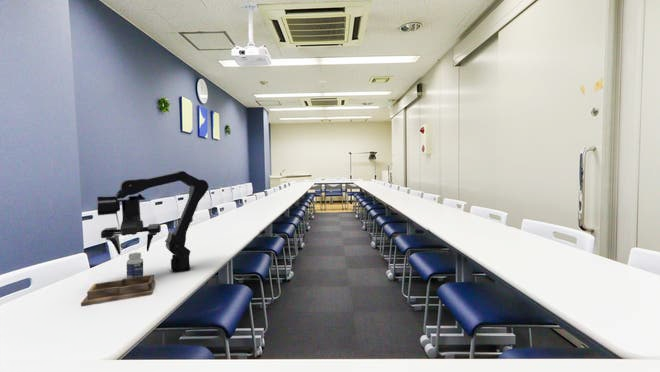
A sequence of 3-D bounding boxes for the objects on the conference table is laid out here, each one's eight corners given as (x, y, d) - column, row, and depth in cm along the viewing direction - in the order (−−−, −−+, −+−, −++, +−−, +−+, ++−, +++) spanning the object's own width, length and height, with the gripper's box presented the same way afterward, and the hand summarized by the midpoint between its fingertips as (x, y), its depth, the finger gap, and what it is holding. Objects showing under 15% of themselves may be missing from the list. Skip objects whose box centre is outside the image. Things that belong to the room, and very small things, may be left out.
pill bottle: (135, 281, 114) (134, 256, 114) (123, 280, 115) (123, 255, 115) (146, 277, 119) (146, 252, 119) (135, 276, 120) (135, 251, 120)
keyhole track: (155, 282, 113) (154, 273, 113) (151, 294, 102) (151, 284, 102) (92, 292, 105) (91, 282, 105) (81, 306, 94) (80, 295, 94)
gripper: (95, 217, 105) (98, 262, 106) (157, 213, 112) (159, 254, 113) (103, 213, 115) (106, 254, 116) (159, 209, 122) (162, 247, 123)
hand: (133, 252), depth 117 cm, fingers open, 9 cm apart
